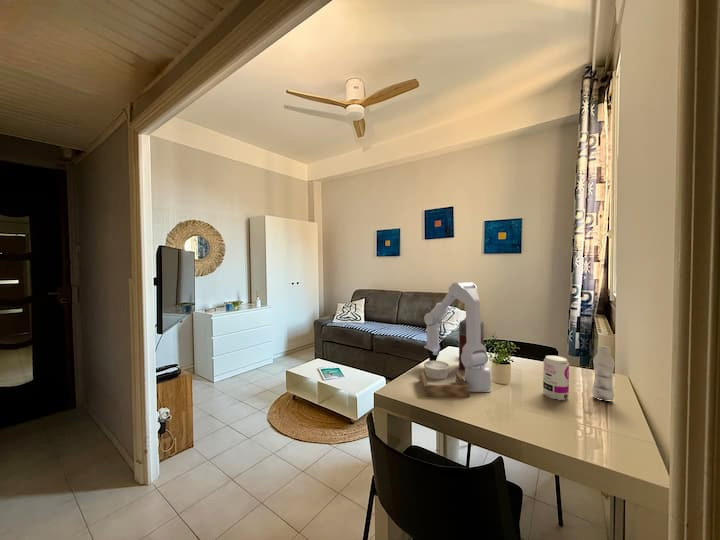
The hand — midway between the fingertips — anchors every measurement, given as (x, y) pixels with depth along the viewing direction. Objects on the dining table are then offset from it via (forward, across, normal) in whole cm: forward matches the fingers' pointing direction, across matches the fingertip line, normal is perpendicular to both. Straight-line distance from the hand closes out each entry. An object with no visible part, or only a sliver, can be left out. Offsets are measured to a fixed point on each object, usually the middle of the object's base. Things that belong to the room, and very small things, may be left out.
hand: (432, 365), depth 147 cm
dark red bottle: (+2, -1, +19) cm, 19 cm away
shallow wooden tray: (+1, +23, 0) cm, 23 cm away
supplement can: (+2, +28, +42) cm, 51 cm away
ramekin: (+2, +10, 0) cm, 10 cm away
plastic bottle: (+2, +30, +58) cm, 65 cm away
